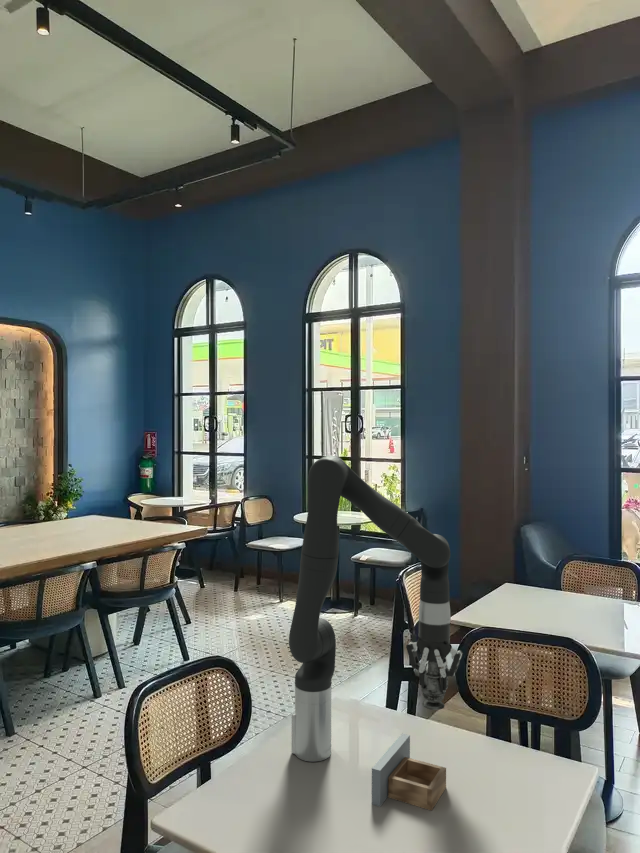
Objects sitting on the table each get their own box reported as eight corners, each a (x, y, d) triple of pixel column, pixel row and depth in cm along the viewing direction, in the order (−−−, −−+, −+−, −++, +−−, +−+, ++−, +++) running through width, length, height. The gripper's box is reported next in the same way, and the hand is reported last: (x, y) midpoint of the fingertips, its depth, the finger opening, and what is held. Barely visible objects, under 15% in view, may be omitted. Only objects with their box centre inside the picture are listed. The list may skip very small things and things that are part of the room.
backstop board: (371, 804, 140) (371, 768, 140) (402, 766, 156) (402, 733, 156) (380, 807, 139) (380, 770, 139) (409, 768, 155) (409, 735, 155)
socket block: (388, 797, 143) (388, 777, 143) (404, 775, 151) (404, 756, 151) (431, 810, 138) (431, 789, 138) (446, 787, 147) (446, 767, 147)
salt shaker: (445, 711, 152) (446, 661, 152) (420, 709, 153) (421, 659, 153) (445, 700, 158) (446, 652, 158) (421, 698, 159) (422, 650, 159)
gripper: (401, 618, 155) (400, 688, 155) (459, 627, 149) (458, 701, 149) (411, 610, 162) (410, 678, 162) (467, 618, 155) (466, 689, 155)
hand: (433, 688), depth 155 cm, fingers closed on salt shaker, 4 cm apart
